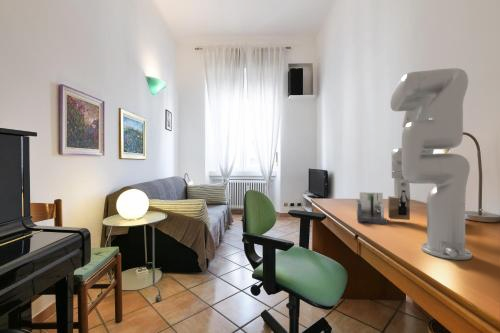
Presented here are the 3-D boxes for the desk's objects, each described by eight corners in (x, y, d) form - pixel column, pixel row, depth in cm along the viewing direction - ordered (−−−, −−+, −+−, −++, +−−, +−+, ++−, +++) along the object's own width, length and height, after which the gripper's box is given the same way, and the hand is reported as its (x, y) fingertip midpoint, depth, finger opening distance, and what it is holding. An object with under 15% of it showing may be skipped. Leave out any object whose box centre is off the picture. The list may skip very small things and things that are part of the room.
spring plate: (383, 219, 114) (383, 206, 114) (377, 218, 115) (377, 206, 115) (381, 215, 122) (381, 203, 122) (375, 214, 123) (375, 203, 123)
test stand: (386, 224, 113) (386, 196, 112) (358, 222, 117) (357, 195, 116) (382, 218, 124) (382, 192, 123) (356, 217, 128) (356, 192, 128)
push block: (409, 219, 113) (409, 198, 112) (390, 218, 115) (389, 197, 115) (407, 217, 116) (407, 196, 116) (388, 216, 119) (388, 196, 119)
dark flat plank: (373, 216, 122) (373, 196, 122) (371, 216, 122) (371, 196, 122) (373, 215, 124) (372, 196, 123) (371, 215, 124) (371, 195, 124)
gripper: (415, 176, 106) (415, 218, 106) (406, 174, 121) (406, 210, 122) (395, 176, 109) (395, 217, 109) (388, 174, 124) (389, 210, 125)
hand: (401, 213), depth 115 cm, fingers closed on push block, 4 cm apart
